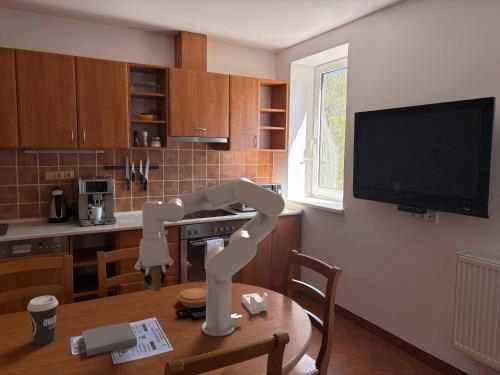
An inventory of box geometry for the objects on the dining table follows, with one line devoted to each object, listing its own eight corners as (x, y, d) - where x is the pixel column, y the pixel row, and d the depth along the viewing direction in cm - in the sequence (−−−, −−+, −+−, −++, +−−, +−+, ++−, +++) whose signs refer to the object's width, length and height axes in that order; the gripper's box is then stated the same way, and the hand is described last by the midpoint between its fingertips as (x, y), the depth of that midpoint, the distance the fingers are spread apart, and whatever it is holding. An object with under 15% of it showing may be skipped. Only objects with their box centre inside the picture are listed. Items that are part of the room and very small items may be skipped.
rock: (166, 286, 132) (173, 271, 142) (149, 270, 131) (157, 256, 140) (146, 303, 135) (154, 287, 145) (128, 287, 133) (138, 272, 143)
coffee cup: (38, 350, 126) (36, 307, 125) (23, 342, 131) (21, 301, 130) (65, 338, 135) (63, 298, 133) (50, 331, 140) (48, 292, 138)
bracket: (267, 312, 159) (267, 295, 158) (251, 314, 157) (252, 297, 156) (256, 300, 171) (257, 284, 170) (242, 302, 169) (242, 286, 168)
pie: (170, 303, 166) (170, 292, 166) (196, 293, 178) (196, 283, 178) (193, 313, 156) (193, 302, 156) (219, 302, 168) (219, 291, 168)
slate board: (128, 327, 143) (128, 321, 143) (136, 344, 131) (136, 337, 131) (82, 337, 135) (82, 331, 135) (87, 356, 123) (87, 349, 123)
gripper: (172, 230, 144) (173, 276, 146) (127, 235, 136) (129, 284, 138) (179, 234, 137) (180, 282, 139) (132, 239, 129) (133, 291, 131)
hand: (154, 282), depth 138 cm, fingers closed on rock, 4 cm apart
